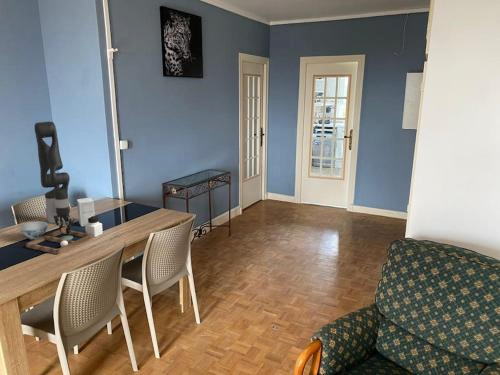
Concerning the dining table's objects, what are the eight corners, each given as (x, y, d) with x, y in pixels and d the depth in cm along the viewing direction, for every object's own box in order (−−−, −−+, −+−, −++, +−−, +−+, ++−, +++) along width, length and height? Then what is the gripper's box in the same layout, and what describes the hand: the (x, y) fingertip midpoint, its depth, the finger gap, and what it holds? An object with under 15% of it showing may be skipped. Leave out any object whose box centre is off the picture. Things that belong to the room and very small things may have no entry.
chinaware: (22, 234, 234) (21, 222, 232) (50, 231, 240) (48, 220, 238) (19, 243, 221) (17, 231, 219) (48, 240, 226) (46, 228, 225)
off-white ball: (59, 247, 216) (58, 241, 215) (64, 245, 220) (64, 238, 219) (64, 248, 215) (63, 242, 214) (70, 246, 218) (69, 239, 217)
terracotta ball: (59, 234, 227) (58, 227, 226) (65, 231, 231) (64, 224, 230) (65, 235, 226) (64, 228, 225) (70, 232, 230) (70, 225, 229)
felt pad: (55, 239, 227) (55, 239, 227) (66, 235, 235) (66, 234, 235) (65, 241, 225) (65, 241, 225) (76, 237, 232) (76, 236, 232)
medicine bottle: (103, 233, 239) (101, 215, 236) (95, 237, 232) (93, 219, 229) (93, 232, 241) (92, 214, 238) (85, 235, 235) (84, 217, 232)
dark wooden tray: (25, 247, 216) (25, 243, 215) (62, 232, 239) (62, 228, 239) (57, 254, 208) (57, 250, 207) (92, 238, 231) (92, 234, 231)
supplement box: (93, 220, 262) (91, 197, 258) (96, 224, 255) (94, 200, 251) (78, 222, 257) (76, 199, 253) (80, 226, 250) (78, 202, 245)
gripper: (48, 205, 223) (51, 233, 228) (66, 208, 219) (69, 236, 223) (58, 202, 230) (61, 229, 234) (76, 205, 225) (79, 232, 229)
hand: (65, 232), depth 228 cm, fingers closed on terracotta ball, 4 cm apart
